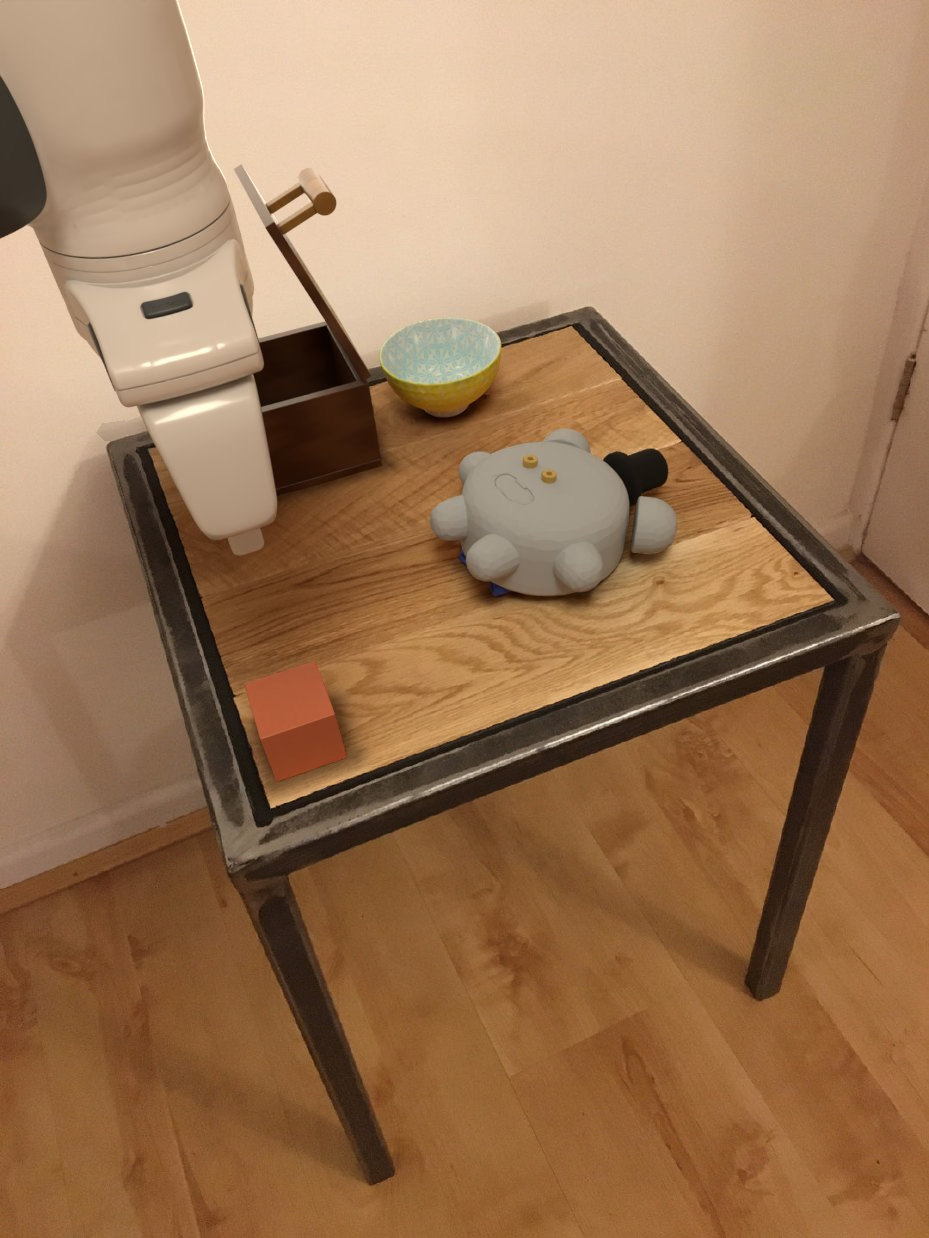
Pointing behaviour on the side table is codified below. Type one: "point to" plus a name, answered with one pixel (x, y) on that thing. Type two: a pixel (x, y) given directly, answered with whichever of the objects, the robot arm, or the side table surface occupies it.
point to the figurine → (554, 514)
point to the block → (295, 721)
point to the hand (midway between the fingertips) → (230, 495)
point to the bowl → (441, 363)
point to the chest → (314, 409)
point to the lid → (319, 203)
